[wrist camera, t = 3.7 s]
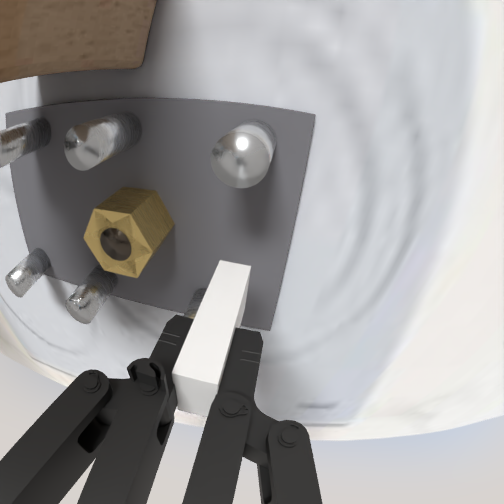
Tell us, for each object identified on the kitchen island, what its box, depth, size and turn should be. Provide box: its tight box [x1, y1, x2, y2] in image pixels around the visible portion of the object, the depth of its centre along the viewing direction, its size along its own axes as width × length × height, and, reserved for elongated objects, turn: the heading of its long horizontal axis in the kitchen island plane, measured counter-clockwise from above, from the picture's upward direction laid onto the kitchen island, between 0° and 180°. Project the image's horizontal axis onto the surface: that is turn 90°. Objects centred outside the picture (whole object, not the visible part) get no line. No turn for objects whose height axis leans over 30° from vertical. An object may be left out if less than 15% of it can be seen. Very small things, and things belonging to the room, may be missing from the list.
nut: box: [84, 187, 175, 278], centre depth 17 cm, size 5×4×4 cm
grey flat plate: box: [6, 98, 315, 331], centre depth 19 cm, size 24×16×1 cm, turn 83°
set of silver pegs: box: [0, 112, 276, 324], centre depth 17 cm, size 21×14×4 cm
